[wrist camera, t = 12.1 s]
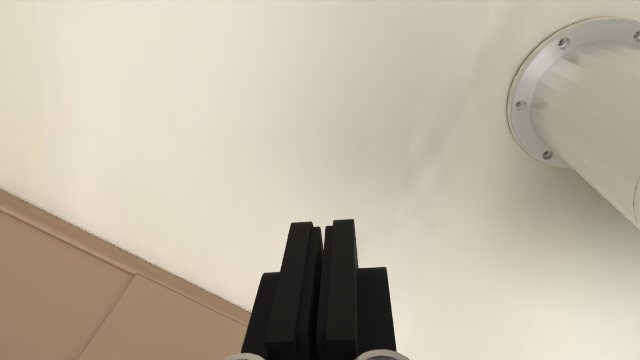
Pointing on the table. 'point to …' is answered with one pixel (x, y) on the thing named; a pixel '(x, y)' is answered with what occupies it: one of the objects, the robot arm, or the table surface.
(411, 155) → the table surface
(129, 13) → the table surface
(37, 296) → the box
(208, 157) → the table surface
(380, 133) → the table surface
